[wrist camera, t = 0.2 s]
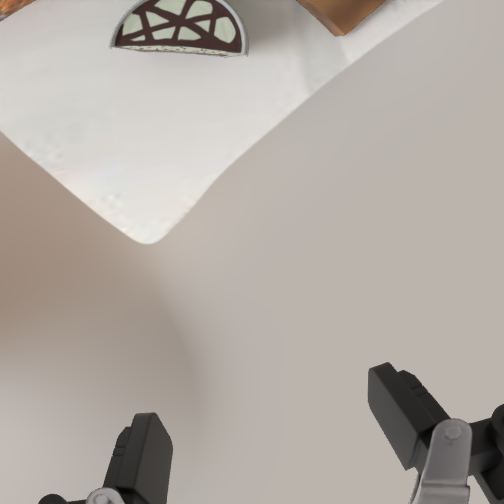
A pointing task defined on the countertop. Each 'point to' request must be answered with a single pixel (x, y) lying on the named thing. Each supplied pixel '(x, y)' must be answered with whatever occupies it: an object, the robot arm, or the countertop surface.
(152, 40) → the food container
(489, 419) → the robot arm
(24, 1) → the mottled orange brown slab
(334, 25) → the platform
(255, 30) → the countertop surface
